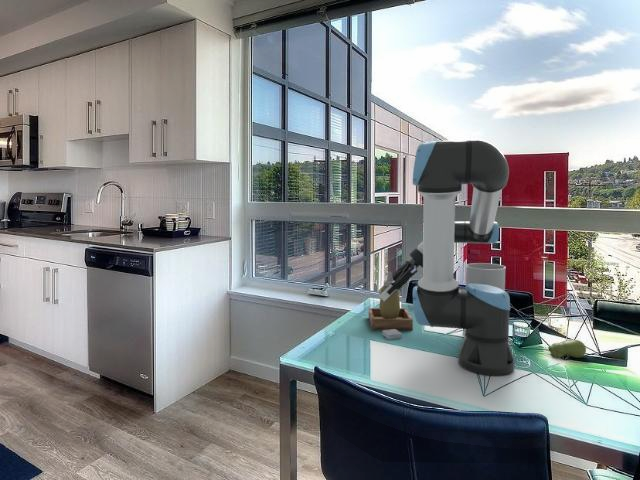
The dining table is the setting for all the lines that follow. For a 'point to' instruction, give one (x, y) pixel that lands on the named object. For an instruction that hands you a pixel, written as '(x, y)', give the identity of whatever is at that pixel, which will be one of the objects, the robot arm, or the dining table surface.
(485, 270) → the cylinder vase
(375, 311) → the tray
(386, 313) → the squeeze bottle
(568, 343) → the pear
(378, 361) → the dining table surface
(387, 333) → the grey flat block
